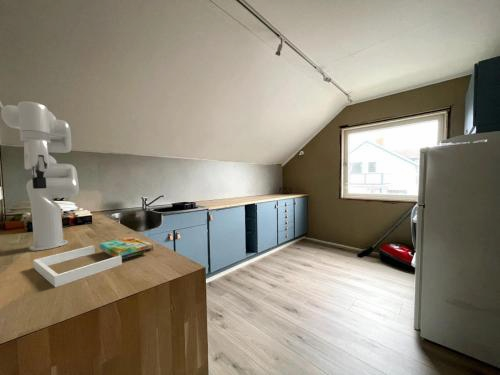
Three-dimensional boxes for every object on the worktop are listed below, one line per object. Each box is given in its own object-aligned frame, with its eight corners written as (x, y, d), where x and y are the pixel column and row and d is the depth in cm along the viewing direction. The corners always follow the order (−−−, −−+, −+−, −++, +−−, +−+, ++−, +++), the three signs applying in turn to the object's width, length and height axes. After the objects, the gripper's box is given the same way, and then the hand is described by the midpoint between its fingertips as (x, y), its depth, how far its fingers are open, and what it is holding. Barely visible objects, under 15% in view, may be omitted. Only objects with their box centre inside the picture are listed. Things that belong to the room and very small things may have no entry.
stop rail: (130, 245, 91) (130, 240, 91) (133, 244, 92) (133, 240, 92) (150, 251, 83) (150, 246, 82) (153, 250, 84) (152, 245, 83)
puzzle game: (130, 234, 91) (151, 241, 79) (130, 245, 92) (152, 253, 79) (98, 241, 82) (118, 250, 70) (99, 252, 82) (118, 264, 70)
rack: (34, 268, 69) (33, 259, 69) (93, 252, 83) (93, 245, 83) (55, 287, 56) (54, 276, 56) (121, 264, 70) (121, 255, 70)
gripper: (16, 139, 75) (20, 189, 76) (25, 133, 67) (29, 189, 67) (44, 142, 81) (48, 188, 82) (55, 136, 73) (59, 187, 74)
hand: (39, 188), depth 75 cm, fingers closed
